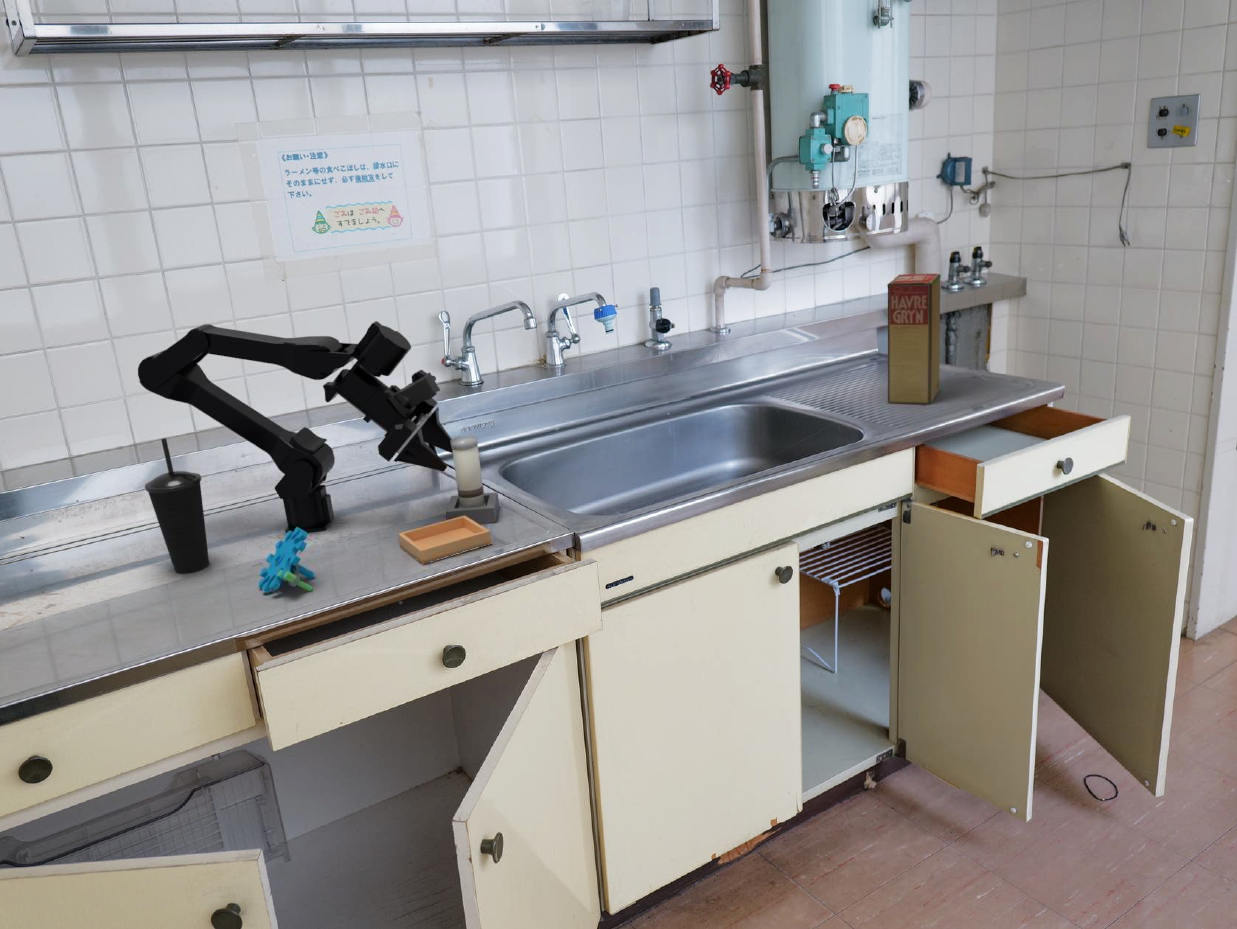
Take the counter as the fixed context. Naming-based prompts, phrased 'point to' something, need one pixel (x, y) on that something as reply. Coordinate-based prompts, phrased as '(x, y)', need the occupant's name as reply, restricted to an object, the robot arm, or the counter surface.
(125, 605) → the counter surface
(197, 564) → the drinking cup
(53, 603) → the counter surface
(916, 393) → the food packaging
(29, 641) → the counter surface
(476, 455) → the cylinder
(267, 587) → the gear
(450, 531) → the tray
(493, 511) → the socket block
